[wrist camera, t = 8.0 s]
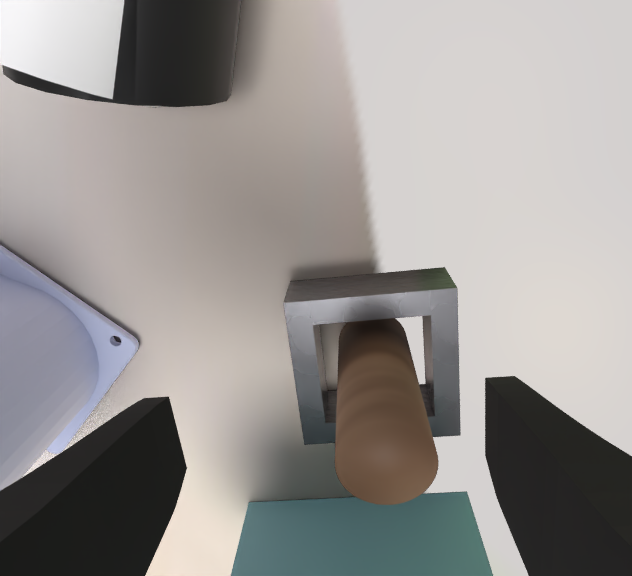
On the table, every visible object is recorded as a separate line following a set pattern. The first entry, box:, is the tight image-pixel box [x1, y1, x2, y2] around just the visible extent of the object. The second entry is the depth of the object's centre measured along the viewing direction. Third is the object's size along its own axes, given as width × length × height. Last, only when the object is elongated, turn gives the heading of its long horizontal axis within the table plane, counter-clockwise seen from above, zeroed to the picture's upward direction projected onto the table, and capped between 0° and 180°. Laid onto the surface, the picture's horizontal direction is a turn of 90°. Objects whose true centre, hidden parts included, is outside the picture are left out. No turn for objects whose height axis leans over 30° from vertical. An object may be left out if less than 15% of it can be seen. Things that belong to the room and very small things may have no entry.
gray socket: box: [283, 267, 460, 445], centre depth 21 cm, size 6×6×2 cm
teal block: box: [231, 492, 493, 576], centre depth 19 cm, size 11×5×11 cm, turn 97°
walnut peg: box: [335, 318, 438, 505], centre depth 18 cm, size 3×3×8 cm
